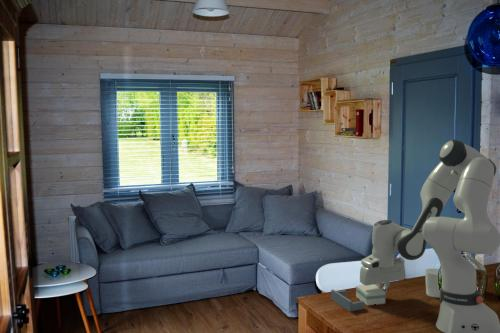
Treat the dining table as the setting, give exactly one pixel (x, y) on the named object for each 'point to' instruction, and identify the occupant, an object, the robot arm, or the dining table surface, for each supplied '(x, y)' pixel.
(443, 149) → the robot arm
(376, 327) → the dining table surface
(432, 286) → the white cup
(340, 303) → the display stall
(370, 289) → the cream rectangular block
